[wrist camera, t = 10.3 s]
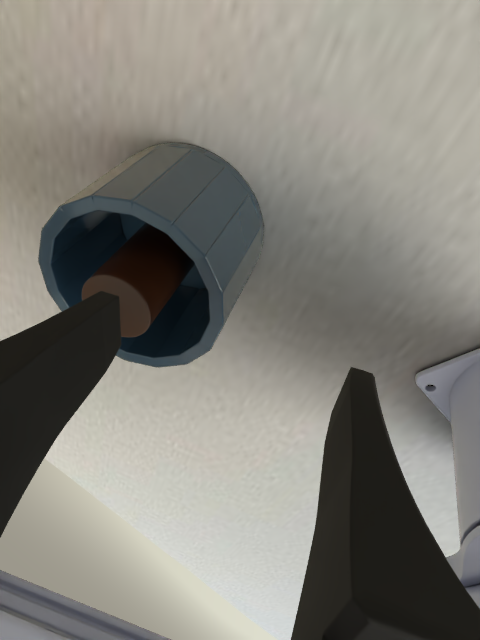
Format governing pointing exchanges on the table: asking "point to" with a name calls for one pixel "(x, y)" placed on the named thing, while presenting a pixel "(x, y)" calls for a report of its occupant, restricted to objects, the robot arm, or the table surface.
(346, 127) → the table surface
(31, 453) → the robot arm
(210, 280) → the pen cup
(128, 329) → the walnut peg
